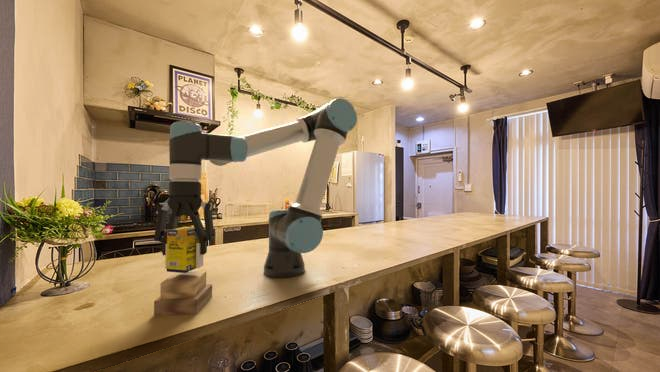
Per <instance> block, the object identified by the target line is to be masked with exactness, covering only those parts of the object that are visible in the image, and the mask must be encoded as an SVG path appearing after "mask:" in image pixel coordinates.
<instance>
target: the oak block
mask: <svg viewBox="0 0 660 372" xmlns="http://www.w3.org/2000/svg"><path fill="white" fill-rule="evenodd" d="M206 284H207V270H201V271H200V270H199V271H198V270H197V271H189V272H187V273H178V272H173V274H171V275H169V277H167V278H166V279H164V280H163V281H161V282H160V296H161V298H160V299H175V298H195V297H196V296H197V295H198V294H199V292H200V291H201V290H202V289H203V288H204V287H205V286H206Z"/></svg>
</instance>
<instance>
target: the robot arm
mask: <svg viewBox="0 0 660 372" xmlns="http://www.w3.org/2000/svg"><path fill="white" fill-rule="evenodd" d="M357 115H358V114H357V111H356V110H355V107H354V106H353V104H352V103H351V102H349V101H348V100H347V99H345V98H340V97H337V98H334V99H331V100H329V101H328V102H327V103H325V104H324V105H322V106H321V107H319V108H317V109H315V110H314V111H312V112H310V113H309V114H307V115H305V116H302V117H298V118H296V120H295V121H293V122H289V123H286V124H283V125H282V124H281V125H279V126H274V127H270V128H267V129H266V128H265V129H263V130H259V131H256V132H253V133H248V134H244V135H240V136H238V135H235V134H233V135H229V134H219V133H218V134H217V133H209V132H203V129H202V128H203V127H202V126H201V125H200V124H198V123H195V122H191V121H175V122H173V123H172V124H171V125H170V126H169V141H168V144H169V147H168V149H169V150H168V151H169V153H168V154H169V168H168V169H169V170H168V171H169V172H168V179H169V180H171V181H169V182H168V196H169V199H168V201H167V202H159V203H156V205H155V207H156V212H157V215H156V222H155V230H154V236H153V239H154V242H160V243H161V245H162V249H161V254H162V256H164V257H165V260H164V264H165V267H164V269H165V270H167V230H168V229H175V228H177V227H178V225H179V222H180V221H179V220H180V219H181V218H182V216H185V217H188V218H189V220H191V223H192V227H194V228H195V231H196V234H197V236H198V239H199V241H200V242H198V243H196V269H200V268H202V267H203V266H204V255H206V254H207V252H208V241H211V240H213V239H214V238H215V229H214V228H215V227H214V220H213V208H214V203H213V202H205V201H203V199H202V183H201V180H202V160H203V161H209V162H210V163H211V164H212V165H215V166H219V167H222V166H226V165H227V164H230V163H232V162H233V163H243V162H245V161H246V160H247V158H250V157H252V156H256V155H259V154H262V153H266V152H269V151H273V150H277V149H279V148H282V147H283V148H284V147H286V146H289V145H292V144H296V143H300V142H302V143H308V142H312V141H315V142H314V144H313V147H312V151H311V154H310V157H309V159H308V162H307V166H306V169H305V172H304V175H303V178H302V181H301V184H300V187H299V190H298V193H297V196H296V200H295V202H293V203H292V204H290V205H289V206H288V208H287V209H279V210H278V209H275V210H271V211H270V212H269V214H268V253H267V256H266V259H265V262H264V264H263V274H264V275H265V276H267V277H271V278H278V279H279V278H281V279H282V278H284V279H285V278H292V277H296V276H299V275H300V276H301V275H302V274H303V273H304V272H305V261H304V258H303V255H302V254H308V253H310V252H312V251H314V250H315V249H316V248H318V247H319V245H320V244H321V242H322V239H323V237H324V236H323V235H324V230H323V229H324V228H323V227H322V226H323V225H322V224H321V223H322V219H323V213H322V211H321V206H322V204H323V201H324V197H325V193H326V191H327V187H328V183H329V181H330V177H331V174H332V172H333V171H332V170H333V167H334V164H335V161H336V159H337V154H338V150H339V148H340V146H341V145H343V144H345V142H346V140H347V135H348V134H349V132H350V131H352V130H353V129H354V128H355V127H356V125H357V122H358V116H357ZM201 207H202V211H203V219H204V220H203V221H204V225H203V223H202V220H201V215H200V212H199V210H200V208H201ZM169 208H170V210H171V213H170V216H169V221H168V223H167V219H168V210H169Z"/></svg>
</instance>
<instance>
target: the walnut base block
mask: <svg viewBox="0 0 660 372" xmlns="http://www.w3.org/2000/svg"><path fill="white" fill-rule="evenodd" d="M160 298H161V295H160V296H159V297H157V298H156V299H155V300H154V301H153V317H155V316H156V317H157V316H159V317H160V316H182V315H186V316H187V315H197V314H199V312H200V311H201V310H202V309H203V308H205V305H206V304H208V302H210V300H212V298H213V284H211V283H210V284H207V283H206V286H205V287H204V288H203V289H202V290H201V291H200V292H199V294H198V295H197V296H196V297H195V298H175V299H160Z"/></svg>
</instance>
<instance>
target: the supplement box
mask: <svg viewBox="0 0 660 372" xmlns="http://www.w3.org/2000/svg"><path fill="white" fill-rule="evenodd" d="M198 242H200V241H199V239H198V236H197V234H196V231H195V228H194V226H182V227H176V228H175V229H168V230H167V269H166V272H167V273H168V272H169V273H176V272H178V273H187V272H192V271H193V270H196V269H197V268H196V243H198Z"/></svg>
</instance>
